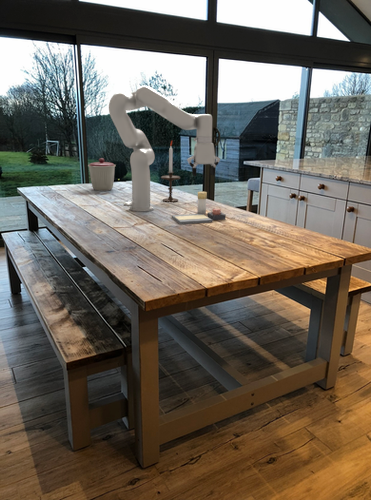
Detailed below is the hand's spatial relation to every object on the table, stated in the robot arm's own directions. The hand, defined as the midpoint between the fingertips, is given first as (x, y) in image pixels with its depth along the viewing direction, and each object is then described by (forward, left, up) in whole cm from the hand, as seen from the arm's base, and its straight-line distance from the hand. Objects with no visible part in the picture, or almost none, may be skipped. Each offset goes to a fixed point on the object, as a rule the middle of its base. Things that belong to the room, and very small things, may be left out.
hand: (203, 175), depth 206 cm
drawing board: (-10, -12, -20) cm, 25 cm away
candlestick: (-6, +36, -20) cm, 42 cm away
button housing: (+3, -12, -20) cm, 23 cm away
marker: (0, 0, -20) cm, 20 cm away
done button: (+3, -12, -18) cm, 22 cm away
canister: (-39, +85, -20) cm, 96 cm away
